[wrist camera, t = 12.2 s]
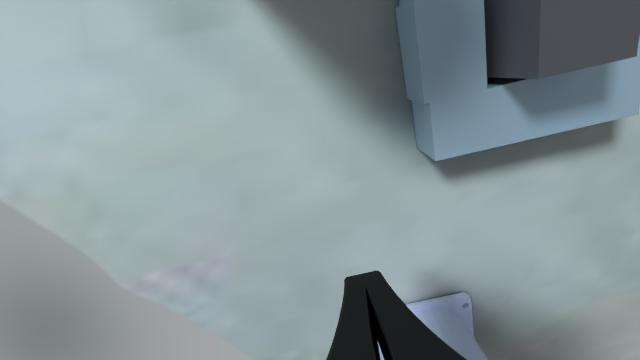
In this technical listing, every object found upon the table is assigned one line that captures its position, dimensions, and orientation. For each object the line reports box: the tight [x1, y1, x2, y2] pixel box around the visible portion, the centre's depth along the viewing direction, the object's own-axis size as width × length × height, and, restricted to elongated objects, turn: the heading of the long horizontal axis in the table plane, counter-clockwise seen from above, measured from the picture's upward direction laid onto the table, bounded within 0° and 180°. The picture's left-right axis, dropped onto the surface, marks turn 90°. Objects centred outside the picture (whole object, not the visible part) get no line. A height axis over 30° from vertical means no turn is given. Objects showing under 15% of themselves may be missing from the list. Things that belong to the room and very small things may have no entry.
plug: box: [484, 0, 640, 79], centre depth 14 cm, size 4×4×6 cm
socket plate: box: [395, 0, 640, 161], centre depth 16 cm, size 12×12×3 cm
